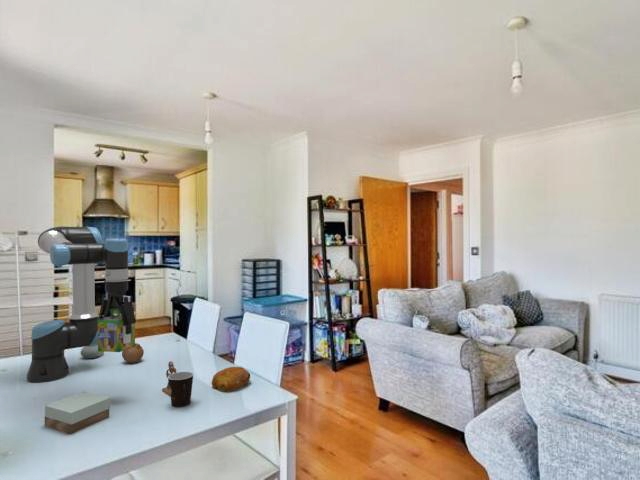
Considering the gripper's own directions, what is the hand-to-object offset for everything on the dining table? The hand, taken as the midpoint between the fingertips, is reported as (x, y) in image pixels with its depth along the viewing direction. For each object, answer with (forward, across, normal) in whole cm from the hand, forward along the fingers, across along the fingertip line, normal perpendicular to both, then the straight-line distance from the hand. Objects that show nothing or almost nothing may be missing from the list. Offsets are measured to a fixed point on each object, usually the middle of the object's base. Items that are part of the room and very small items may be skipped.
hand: (117, 341), depth 147 cm
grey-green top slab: (+19, +4, -17) cm, 26 cm away
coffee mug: (+22, +24, +7) cm, 33 cm away
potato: (+22, +27, +30) cm, 46 cm away
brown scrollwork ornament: (+22, +12, +14) cm, 29 cm away
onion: (+22, -34, +33) cm, 53 cm away
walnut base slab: (+22, +4, -17) cm, 28 cm away
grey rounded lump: (+23, -60, +30) cm, 71 cm away
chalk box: (+3, 0, 0) cm, 3 cm away
